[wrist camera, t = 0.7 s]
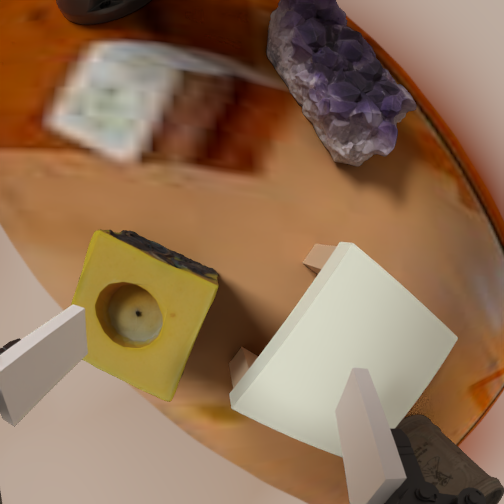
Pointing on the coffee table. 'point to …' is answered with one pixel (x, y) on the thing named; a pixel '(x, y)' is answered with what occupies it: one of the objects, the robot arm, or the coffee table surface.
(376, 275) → the footstool
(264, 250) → the coffee table surface
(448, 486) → the beer stein
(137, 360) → the candle
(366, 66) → the geode
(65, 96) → the coffee table surface
